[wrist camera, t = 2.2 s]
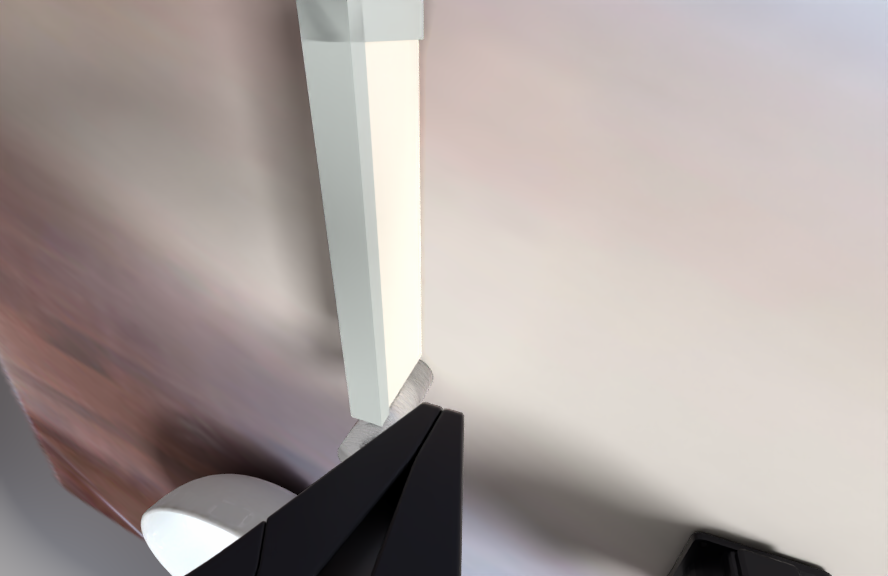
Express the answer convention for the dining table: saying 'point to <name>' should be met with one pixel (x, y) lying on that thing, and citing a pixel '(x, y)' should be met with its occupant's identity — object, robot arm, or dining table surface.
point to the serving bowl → (208, 518)
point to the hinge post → (390, 411)
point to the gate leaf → (369, 183)
